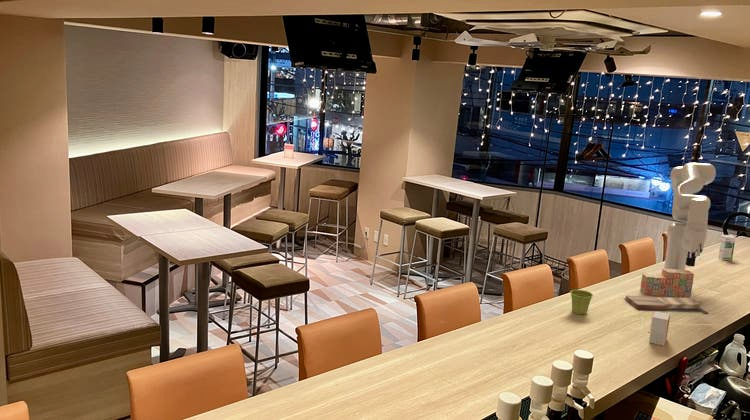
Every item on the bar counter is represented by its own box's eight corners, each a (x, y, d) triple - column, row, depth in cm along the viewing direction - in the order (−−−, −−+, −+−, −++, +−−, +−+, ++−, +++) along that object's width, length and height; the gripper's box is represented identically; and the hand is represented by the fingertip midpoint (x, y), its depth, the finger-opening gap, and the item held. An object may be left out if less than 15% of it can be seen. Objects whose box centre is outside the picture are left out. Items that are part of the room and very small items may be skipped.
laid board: (625, 299, 273) (625, 295, 273) (653, 300, 274) (653, 296, 273) (637, 309, 262) (637, 304, 261) (666, 309, 262) (666, 305, 262)
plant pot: (594, 312, 256) (596, 293, 255) (585, 318, 249) (587, 298, 248) (574, 306, 262) (576, 288, 261) (564, 312, 256) (566, 292, 254)
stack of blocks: (644, 295, 283) (647, 270, 280) (639, 291, 289) (642, 267, 287) (690, 298, 281) (694, 273, 279) (685, 294, 287) (688, 269, 285)
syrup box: (721, 260, 354) (725, 236, 351) (717, 257, 360) (721, 234, 357) (732, 260, 353) (736, 237, 351) (728, 258, 359) (731, 235, 356)
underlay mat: (623, 299, 275) (623, 298, 275) (688, 301, 276) (688, 300, 276) (638, 311, 260) (639, 310, 260) (708, 313, 261) (708, 312, 260)
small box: (664, 346, 223) (668, 320, 221) (648, 342, 226) (652, 316, 224) (667, 339, 230) (670, 314, 228) (651, 336, 233) (654, 310, 231)
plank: (665, 308, 263) (665, 304, 263) (655, 301, 272) (655, 297, 272) (700, 308, 264) (701, 304, 263) (689, 301, 273) (690, 297, 272)
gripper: (678, 221, 268) (673, 260, 272) (696, 230, 254) (690, 270, 258) (695, 222, 268) (689, 260, 273) (714, 230, 254) (707, 271, 258)
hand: (689, 265), depth 265 cm, fingers closed
